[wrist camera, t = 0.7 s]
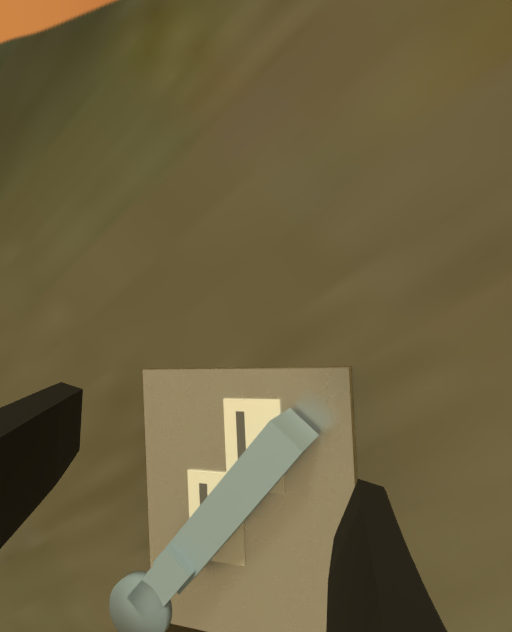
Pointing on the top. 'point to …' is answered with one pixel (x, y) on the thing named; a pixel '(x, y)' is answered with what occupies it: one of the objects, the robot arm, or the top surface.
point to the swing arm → (210, 526)
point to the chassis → (275, 510)
